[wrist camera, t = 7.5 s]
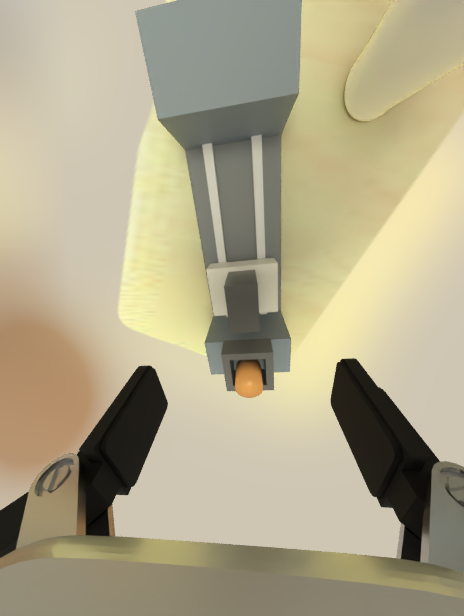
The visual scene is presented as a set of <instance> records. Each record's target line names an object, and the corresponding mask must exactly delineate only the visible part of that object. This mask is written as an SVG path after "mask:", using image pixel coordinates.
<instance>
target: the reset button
mask: <svg viewBox="0 0 464 616" xmlns="http://www.w3.org/2000/svg"><path fill="white" fill-rule="evenodd" d="M235 390H236V392H237V393H238V394H239V395H241V396H243V397H247V398H252V397H256V396H258V395H260V394H261V393H262V391H263V382H262V373H261V364H260V362H259V361H258V360H257V359H250V360H239V361H238V362H237V364H236V378H235Z"/></svg>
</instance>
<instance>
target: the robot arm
mask: <svg viewBox="0 0 464 616" xmlns="http://www.w3.org/2000/svg"><path fill="white" fill-rule="evenodd" d="M167 405H168V402H167V399H166V397H165V394H164V391H163V389H162V386H161V384H160V381H159V378H158V376H157V373H156V371H155V369H154V368H152V367H151V366H139V367H138V368H137V369H136V371H135V372H134V373H133V375H132V376H131V378H130V379H129V380H128V382H127V383H126V385H125V386H124V387H123V389H122V390H121V392H120V393H119V394H118V396H117V397H116V399H115V400H114V402H113V403H112V404H111V406H110V407H109V408H108V410H107V411H106V412H105V414H104V415H103V417H102V418H101V419H100V421H99V422H98V424H97V425H96V426H95V428H94V429H93V431H92V432H91V433H90V435H89V436H88V438H87V439H86V440H85V442H84V443H83V445H82V446H81V447H80V449H79V450H80V451H79V452H78V454H77V455H76V454H71V453H70V454H66V455H63V456H61V457H59V458H57V459H55V460H54V461H52V462H51V463H50V464H49V465H47V466H46V467H45V468H44V469H43V470H42V471H41V472H40V473H39V475H38V476H37V477H36V478H35V480H34V482H33V483H32V485H31V487H30V490H29V492H27V493H26V494H24V495H23V496H21V497H20V498H18V499H17V500H16V501H14V502H12V503H11V504H9V505H8V506H6V507H5V508H3V509H2V510H0V616H464V467H462V466H460V465H458V464H455V463H451V462H446V461H444V462H440V461H439V460H438V458H437V457H436V456H435V455H434V453H433V452H432V451H431V449H430V448H429V447H428V446H427V444H426V443H425V442H424V441H423V439H422V438H421V437H420V436H419V434H418V433H417V432H416V430H415V429H414V428H413V427H412V425H411V424H410V423H409V422H408V420H407V419H406V418H405V416H404V415H403V414H402V413H401V411H400V410H399V409H398V408H397V406H396V405H395V404H394V402H393V401H392V400H391V399H390V397H389V396H388V395H387V394H386V392H385V391H384V390H383V389H381V388H379V387H377V385H376V384H375V383H374V381H373V380H372V379H371V378H370V376H369V375H368V374H367V372H366V371H365V370H364V368H363V367H362V366H361V365H360V363H359V362H358V361H357V360H356V359H342V360H341V361H340V362H338V363H337V367H336V372H335V378H334V383H333V389H332V395H331V406H332V408H333V411H334V413H335V415H336V417H337V420H338V422H339V424H340V426H341V428H342V431H343V433H344V435H345V437H346V440H347V442H348V444H349V446H350V448H351V451H352V453H353V455H354V458H355V460H356V462H357V464H358V467H359V469H360V471H361V473H362V476H363V478H364V480H365V482H366V485H367V487H368V489H369V491H370V493H371V494H372V496H374V497H377V499H378V501H379V503H380V506H381V507H389V508H393V509H394V511H395V513H396V515H397V517H398V519H399V521H400V522H401V527H400V535H399V542H398V550H397V558H387V557H376V556H367V555H357V554H347V553H334V552H322V551H309V550H297V549H283V548H271V547H258V546H244V545H231V544H218V543H217V544H216V543H203V542H189V541H176V540H161V539H146V538H131V537H115V529H114V518H113V507H112V503H113V500H114V498H115V496H116V495H128V494H129V491H130V489H131V487H133V486H134V485H135V483H136V482H137V480H138V477H139V475H140V472H141V470H142V467H143V465H144V462H145V460H146V458H147V455H148V453H149V451H150V448H151V446H152V443H153V441H154V438H155V435H156V433H157V431H158V429H159V426H160V424H161V421H162V419H163V417H164V414H165V412H166V409H167Z"/></svg>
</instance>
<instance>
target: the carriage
mask: <svg viewBox="0 0 464 616" xmlns="http://www.w3.org/2000/svg"><path fill="white" fill-rule="evenodd" d="M206 272H207V278H208V283H209V289H210V295H211V301H212V307H213V313H214V316H222V315H228V321H229V328H230V333H248V332H260V320H259V313H266V312H278V263H277V261H276V260H275V259H274V258H265V259H255V260H245V261H234V262H224V263H214V264H210V265H209V267H208V268H207V269H206Z"/></svg>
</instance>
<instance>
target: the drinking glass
mask: <svg viewBox="0 0 464 616" xmlns="http://www.w3.org/2000/svg"><path fill="white" fill-rule="evenodd" d="M462 65H464V0H393V1H392V3H391V5H390V6H389V8H388V10H387V11H386V13H385V15H384V16H383V18H382V20H381V22H380V23H379V25H378V27H377V28H376V30H375V32H374V33H373V35H372V37H371V38H370V40H369V42H368V43H367V45H366V47H365V48H364V50H363V51H362V53H361V54H360V55H359V57H358V58H357V60H356V61H355V63H354V65H353V66H352V68H351V70H350V73H349V75H348V78H347V81H346V85H345V93H344V99H345V105H346V108H347V111H348V112H349V114H350V115H351V116H352V117H353V118H354V119H356V120H359V121H370V120H373V119H376V118H378V117H380V116H381V115H383V114H384V113H386V112H387V111H388V110H390V109H391V108H392V107H394V106H395V105H397V104H399V103H400V102H402V101H404V100H405V99H407V98H408V97H410V96H412V95H413V94H415V93H417V92H418V91H420V90H422V89H423V88H425V87H427V86H428V85H430V84H432V83H433V82H435V81H437V80H438V79H440V78H442V77H443V76H445V75H447V74H448V73H450V72H452V71H453V70H455V69H457V68H459V67H460V66H462Z"/></svg>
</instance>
